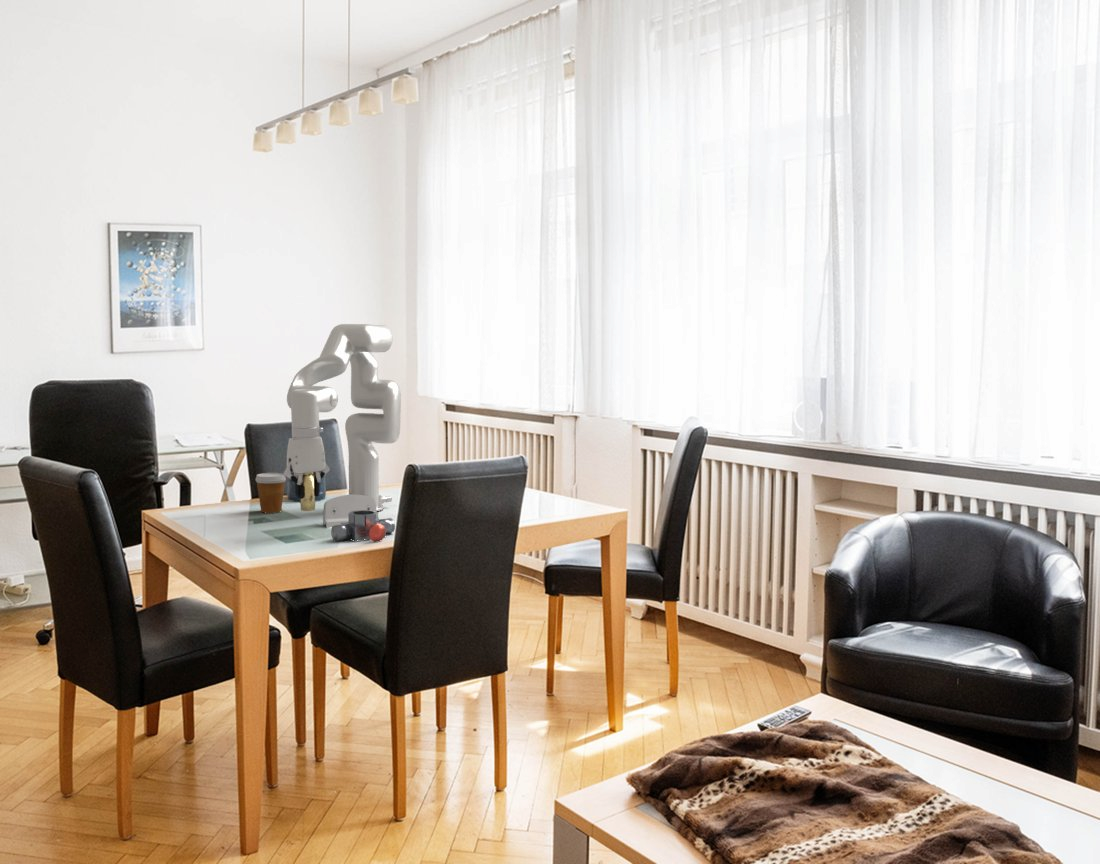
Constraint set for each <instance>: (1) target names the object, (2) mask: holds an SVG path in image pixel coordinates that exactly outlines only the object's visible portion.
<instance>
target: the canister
mask: <svg viewBox="0 0 1100 864" xmlns="http://www.w3.org/2000/svg"><path fill="white" fill-rule="evenodd" d="M291 475H293V476H294V473H293V472H291ZM326 475H327V473H326V474H325V475H324V477H323V478H322V479H321V482H319V488H320V492H319V496H315V502H318V501H322V500H325V499H326V496H327V490H326ZM286 496H287V499H288V500H289V501H291V502H300V503H301V499H300V498H298V497H297V496H296V494H295V484H294V483H293V482H292V481H291V480H290V479H289V478H287V495H286Z"/></svg>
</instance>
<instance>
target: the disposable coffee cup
mask: <svg viewBox="0 0 1100 864" xmlns="http://www.w3.org/2000/svg"><path fill="white" fill-rule="evenodd" d="M254 480H255V482H256V485H257V492H258V499H259V507H260V512H261V513H262V512H266V513H265V514H267V513H273V514H275V513H274V512H279V513H281V512H282V509H283V508H282V507H283V500H284V492H285V491H284V490H285V483H286V480H287V477H285V476H284V475H283V473H282V472H280V473H279V472H266V473H265V472H263V473H258V474H256V477H255V479H254ZM280 511H281V512H280Z"/></svg>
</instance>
